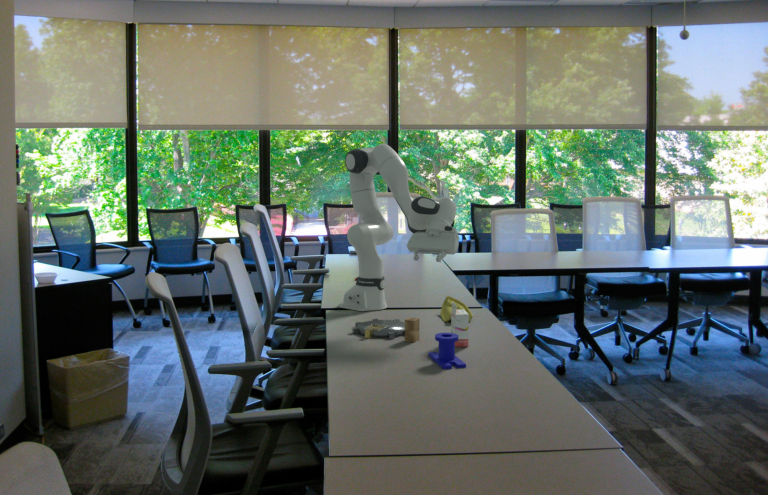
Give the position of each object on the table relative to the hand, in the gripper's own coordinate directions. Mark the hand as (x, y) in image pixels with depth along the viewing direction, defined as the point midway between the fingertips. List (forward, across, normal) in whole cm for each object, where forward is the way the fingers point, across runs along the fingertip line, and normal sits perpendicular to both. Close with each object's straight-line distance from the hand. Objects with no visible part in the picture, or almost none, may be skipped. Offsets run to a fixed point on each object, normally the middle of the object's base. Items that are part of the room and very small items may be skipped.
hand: (426, 260), depth 235 cm
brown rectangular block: (+30, +1, +9) cm, 31 cm away
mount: (+42, +22, -2) cm, 47 cm away
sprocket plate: (+25, -15, +14) cm, 32 cm away
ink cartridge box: (+27, +18, +12) cm, 35 cm away
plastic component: (+1, +1, +39) cm, 39 cm away
